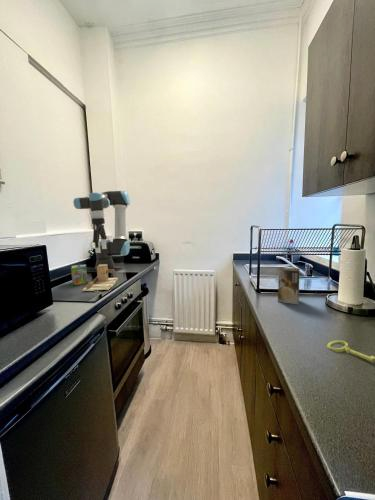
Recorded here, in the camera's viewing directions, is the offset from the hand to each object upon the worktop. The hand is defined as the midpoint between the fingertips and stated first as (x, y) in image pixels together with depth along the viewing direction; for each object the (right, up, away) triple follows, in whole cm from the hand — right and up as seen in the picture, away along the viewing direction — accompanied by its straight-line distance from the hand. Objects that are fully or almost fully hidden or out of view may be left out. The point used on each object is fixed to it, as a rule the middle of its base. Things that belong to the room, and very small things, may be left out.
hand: (101, 250), depth 146 cm
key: (+106, -32, -77) cm, 135 cm away
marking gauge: (+3, -19, +2) cm, 20 cm away
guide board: (+2, -22, -4) cm, 22 cm away
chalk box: (-15, -22, +3) cm, 26 cm away
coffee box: (+105, -24, -37) cm, 114 cm away
